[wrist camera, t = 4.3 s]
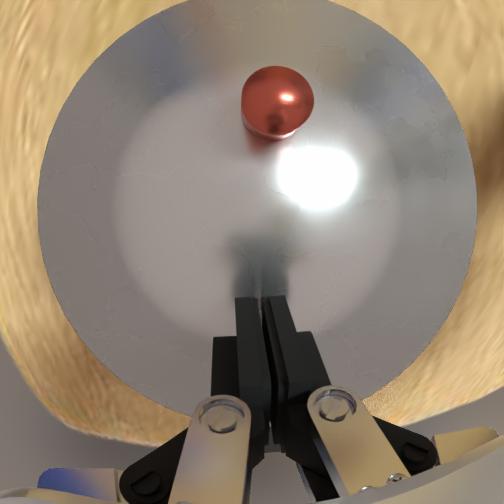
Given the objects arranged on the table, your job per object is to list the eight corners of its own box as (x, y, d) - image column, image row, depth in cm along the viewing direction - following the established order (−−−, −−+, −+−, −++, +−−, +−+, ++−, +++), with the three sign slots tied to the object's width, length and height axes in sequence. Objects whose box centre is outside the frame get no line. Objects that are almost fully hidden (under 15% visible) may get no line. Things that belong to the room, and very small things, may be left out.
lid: (443, 40, 10) (477, 20, 7) (421, 409, 14) (443, 438, 11) (64, 34, 9) (34, 9, 6) (104, 429, 13) (87, 464, 10)
